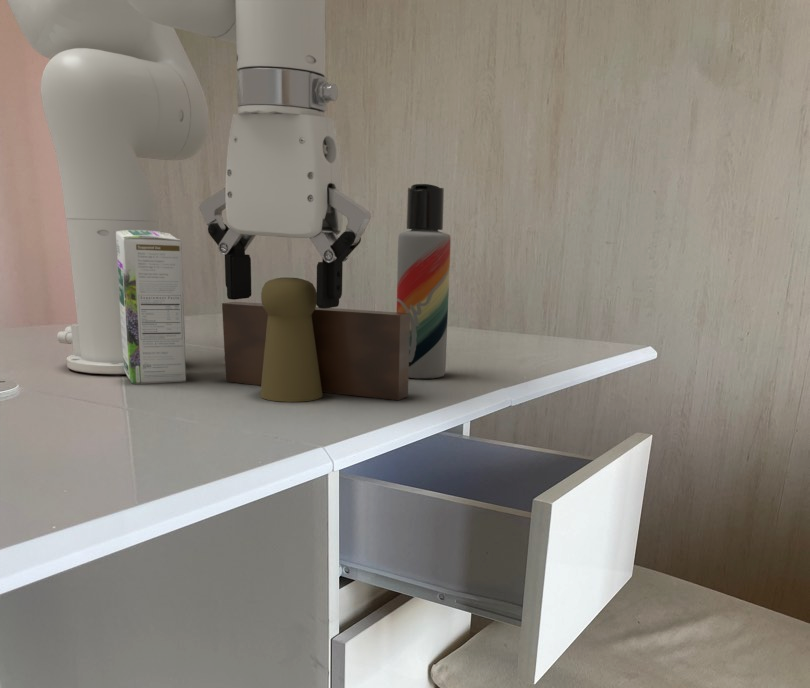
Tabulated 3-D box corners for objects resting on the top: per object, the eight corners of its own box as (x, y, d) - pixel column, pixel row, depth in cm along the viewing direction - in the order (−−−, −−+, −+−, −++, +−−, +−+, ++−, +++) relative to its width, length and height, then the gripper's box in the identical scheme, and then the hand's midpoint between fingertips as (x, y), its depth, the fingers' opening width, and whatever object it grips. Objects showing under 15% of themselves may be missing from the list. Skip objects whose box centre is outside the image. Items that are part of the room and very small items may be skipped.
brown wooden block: (225, 381, 88) (221, 303, 85) (238, 378, 90) (235, 301, 87) (398, 400, 81) (400, 315, 78) (408, 396, 83) (410, 313, 80)
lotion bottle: (387, 376, 93) (391, 182, 86) (405, 369, 98) (410, 186, 91) (435, 380, 91) (443, 183, 85) (451, 373, 96) (459, 186, 90)
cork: (312, 403, 78) (310, 280, 74) (251, 399, 79) (246, 278, 75) (329, 392, 84) (329, 277, 80) (272, 388, 85) (269, 275, 81)
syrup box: (122, 371, 90) (111, 229, 84) (178, 369, 92) (171, 230, 86) (131, 385, 85) (120, 236, 79) (189, 382, 88) (183, 237, 82)
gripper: (390, 104, 72) (382, 307, 79) (223, 104, 79) (229, 293, 85) (350, 92, 66) (346, 314, 72) (172, 93, 72) (182, 298, 78)
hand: (282, 302), depth 79 cm, fingers open, 9 cm apart
